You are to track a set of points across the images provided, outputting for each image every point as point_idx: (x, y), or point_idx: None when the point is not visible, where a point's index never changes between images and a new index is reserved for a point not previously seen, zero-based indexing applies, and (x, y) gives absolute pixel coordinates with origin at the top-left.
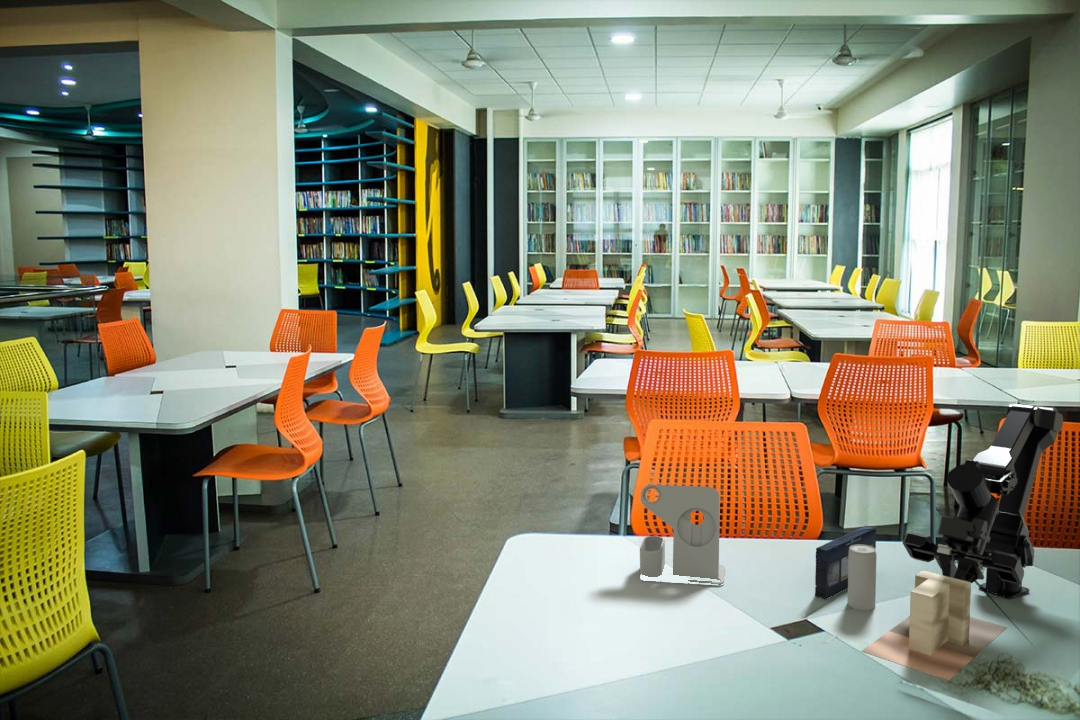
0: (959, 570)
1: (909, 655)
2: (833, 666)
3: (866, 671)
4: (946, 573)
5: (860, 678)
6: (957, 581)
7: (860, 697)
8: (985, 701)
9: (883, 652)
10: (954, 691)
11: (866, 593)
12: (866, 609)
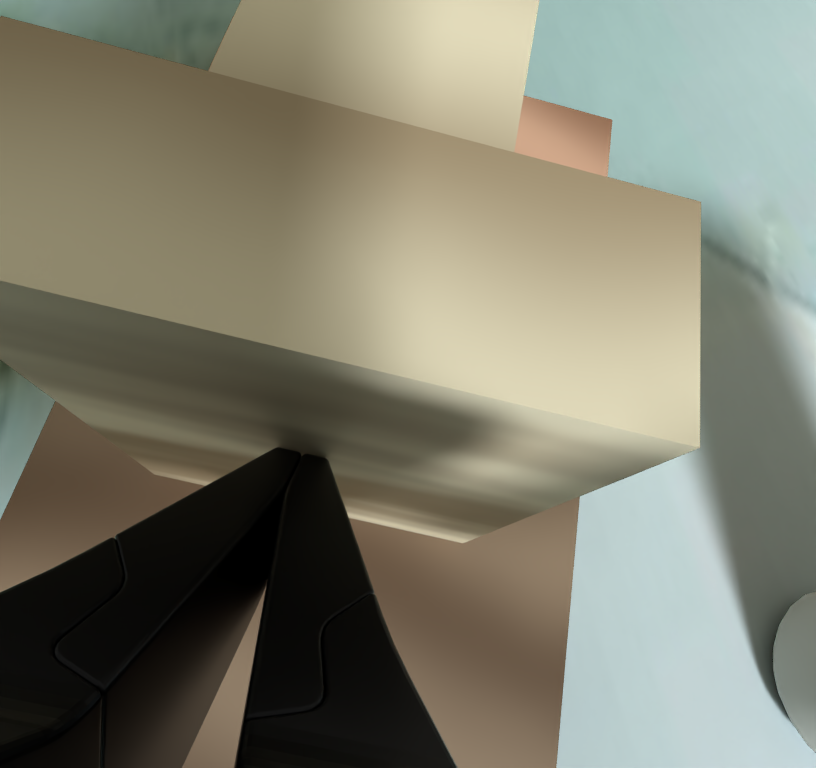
0: (17, 701)
1: None
2: (649, 57)
3: (541, 61)
4: (325, 653)
5: (540, 14)
6: (96, 201)
7: None
8: (93, 4)
9: (531, 140)
10: (213, 32)
11: None
12: (813, 602)
